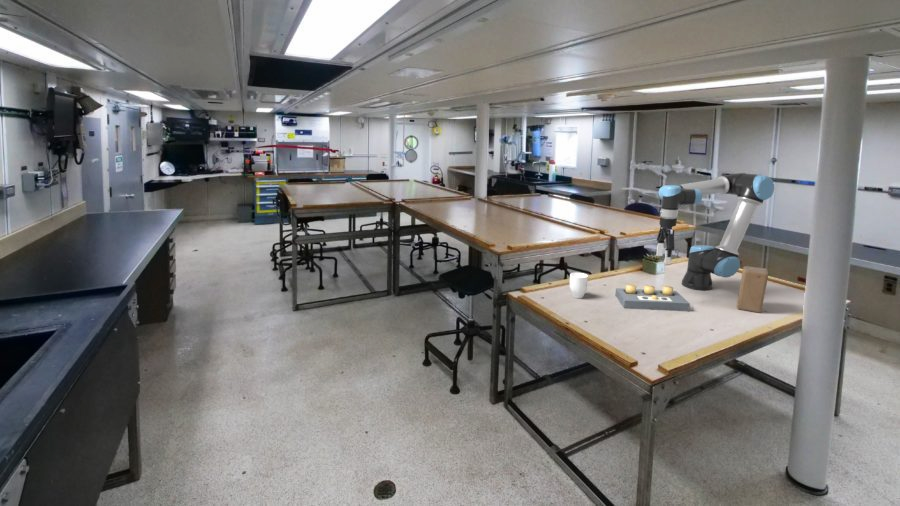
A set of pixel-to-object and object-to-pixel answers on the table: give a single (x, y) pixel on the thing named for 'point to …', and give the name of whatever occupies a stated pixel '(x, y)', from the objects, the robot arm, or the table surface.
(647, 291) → the button middle
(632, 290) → the button
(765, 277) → the wooden block
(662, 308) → the console
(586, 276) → the mug
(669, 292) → the button
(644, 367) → the table surface
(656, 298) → the card
